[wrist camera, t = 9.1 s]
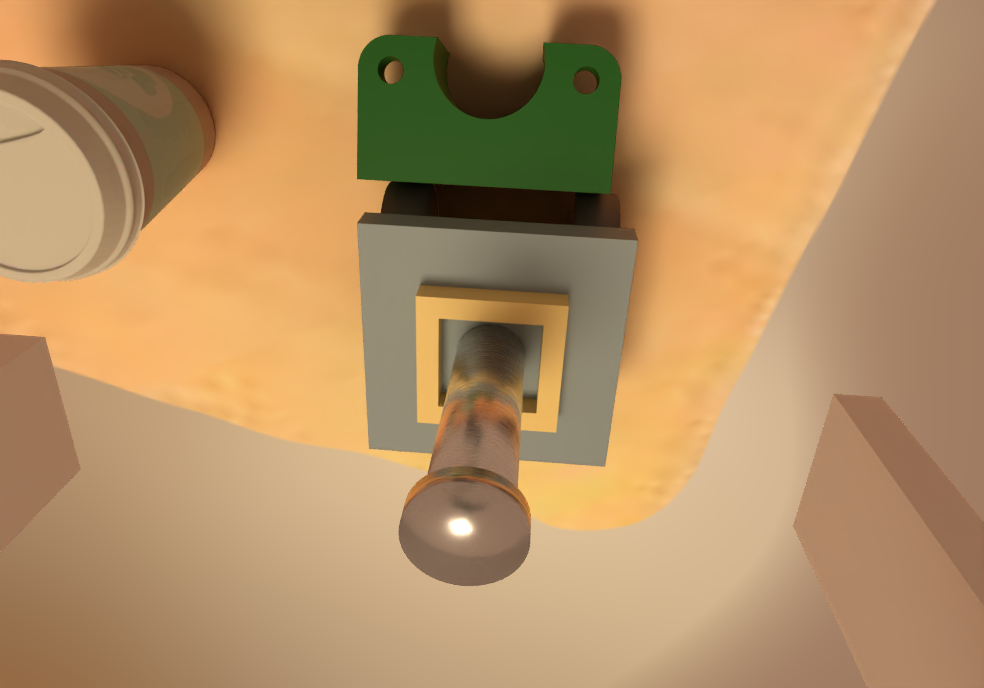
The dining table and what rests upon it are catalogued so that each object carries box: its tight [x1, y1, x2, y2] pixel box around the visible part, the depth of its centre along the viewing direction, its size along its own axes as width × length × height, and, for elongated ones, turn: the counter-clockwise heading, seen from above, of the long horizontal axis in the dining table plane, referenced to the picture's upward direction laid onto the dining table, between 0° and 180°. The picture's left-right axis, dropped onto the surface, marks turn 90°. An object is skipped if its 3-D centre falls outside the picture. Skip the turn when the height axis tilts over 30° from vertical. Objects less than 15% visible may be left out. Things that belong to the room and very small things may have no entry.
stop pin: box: [399, 324, 531, 586], centre depth 28 cm, size 4×4×12 cm
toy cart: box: [357, 181, 638, 467], centre depth 36 cm, size 13×12×9 cm
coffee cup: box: [0, 60, 215, 283], centre depth 31 cm, size 8×8×12 cm
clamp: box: [357, 35, 621, 194], centre depth 33 cm, size 12×6×9 cm, turn 81°
